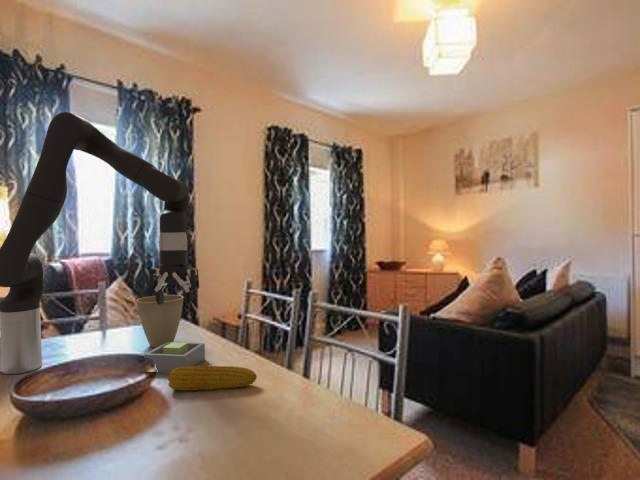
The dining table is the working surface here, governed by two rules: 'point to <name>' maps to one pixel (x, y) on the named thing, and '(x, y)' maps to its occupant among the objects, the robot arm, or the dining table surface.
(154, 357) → the bin
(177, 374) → the food
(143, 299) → the plant pot
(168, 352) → the green block
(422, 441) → the dining table surface
